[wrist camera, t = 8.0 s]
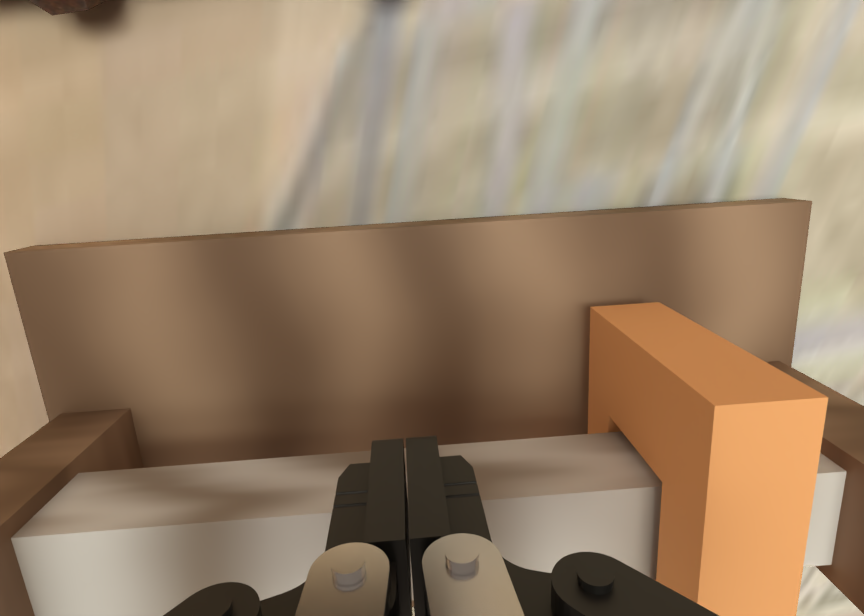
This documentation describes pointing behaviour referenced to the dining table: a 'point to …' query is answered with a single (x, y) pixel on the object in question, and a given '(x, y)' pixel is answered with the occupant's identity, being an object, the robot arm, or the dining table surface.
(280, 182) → the dining table surface
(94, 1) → the bolt
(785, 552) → the collar
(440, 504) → the robot arm
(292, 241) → the pipe stand
